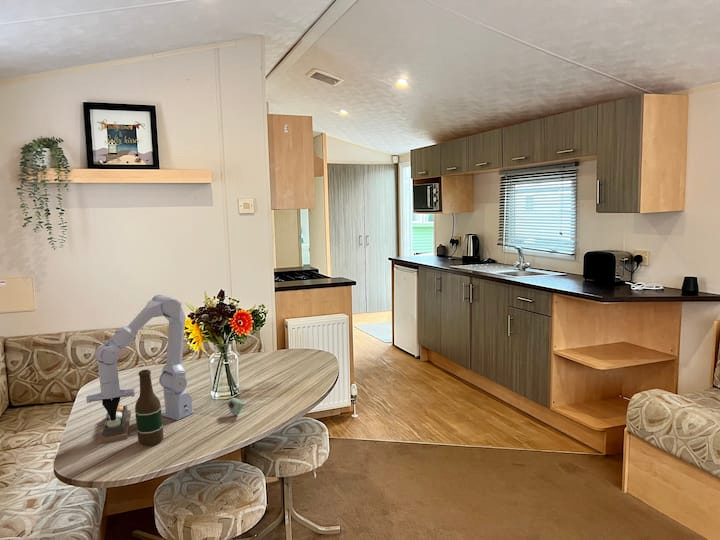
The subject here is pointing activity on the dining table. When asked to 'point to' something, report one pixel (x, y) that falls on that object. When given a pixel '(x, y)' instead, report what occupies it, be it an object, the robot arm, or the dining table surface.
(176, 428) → the dining table surface
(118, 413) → the cream button
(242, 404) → the robot head
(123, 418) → the button panel
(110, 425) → the sage button
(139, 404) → the beer bottle
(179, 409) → the robot arm
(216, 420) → the dining table surface
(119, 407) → the terracotta button
